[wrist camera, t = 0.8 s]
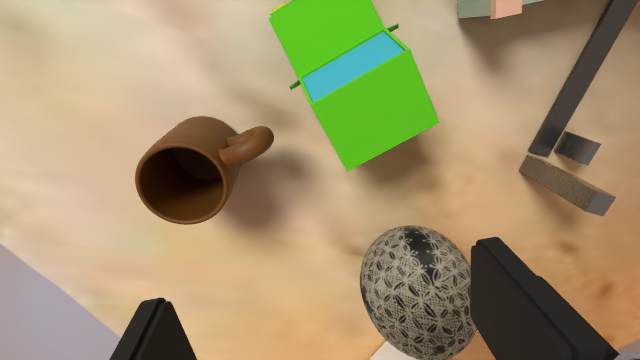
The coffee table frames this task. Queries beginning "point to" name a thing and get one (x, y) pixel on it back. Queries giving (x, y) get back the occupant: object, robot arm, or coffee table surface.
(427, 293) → the decorative egg
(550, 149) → the gate posts
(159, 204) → the mug
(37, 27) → the coffee table surface
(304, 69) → the green toy car
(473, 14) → the gate
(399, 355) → the photo printer
